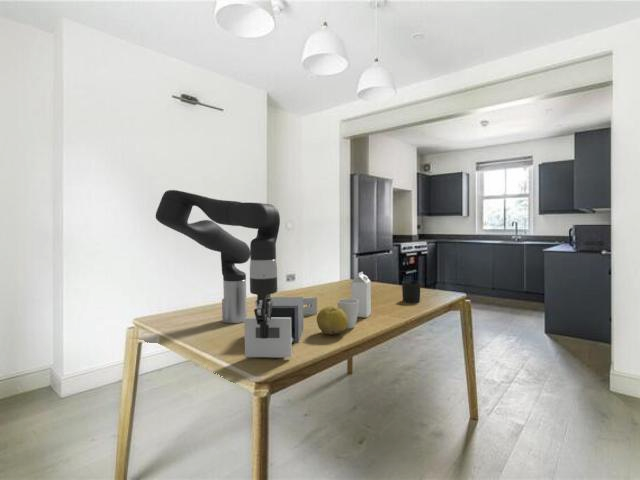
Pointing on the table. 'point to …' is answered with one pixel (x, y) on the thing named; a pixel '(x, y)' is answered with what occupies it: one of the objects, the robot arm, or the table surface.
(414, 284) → the pen holder
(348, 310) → the cup
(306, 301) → the cassette
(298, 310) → the grey open box
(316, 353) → the table surface
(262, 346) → the grey flat-panelled piece
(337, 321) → the fruit
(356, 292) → the milk carton
